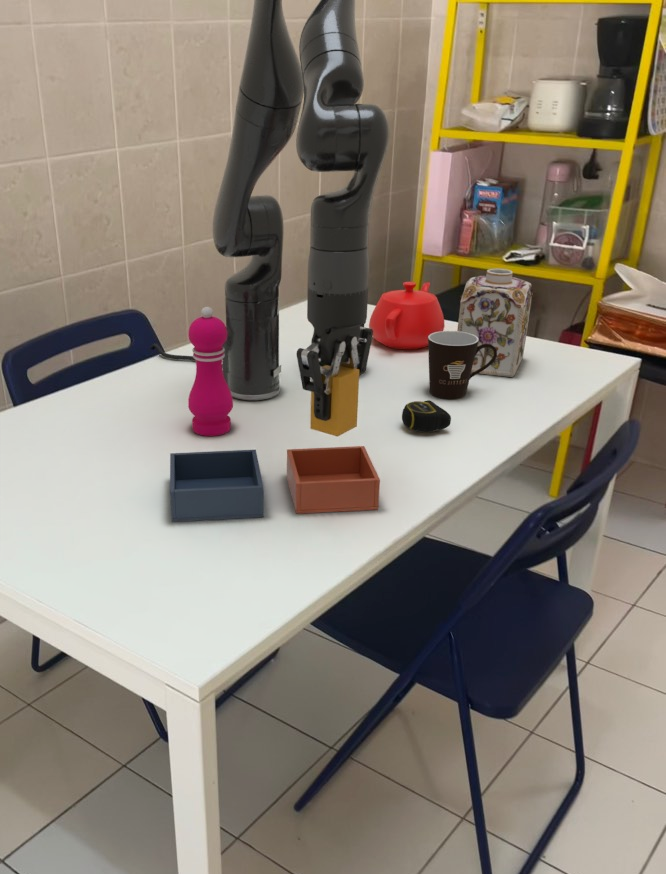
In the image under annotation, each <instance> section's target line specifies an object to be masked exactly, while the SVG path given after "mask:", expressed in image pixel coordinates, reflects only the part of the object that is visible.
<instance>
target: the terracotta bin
mask: <svg viewBox="0 0 666 874" xmlns="http://www.w3.org/2000/svg"><path fill="white" fill-rule="evenodd" d="M286 480H287V484H288V488H289V492H290V495H291V500H292V504H293V507H294V511H295V514H296V515H297V514H315V513H318V514H319V513H336V512H355V511H358V512H359V511H378V510H379V502H380V487H381V486H380V485H381V479H380V477H379V475H378V473H377V471H376V467H375V466H374V464H373V462H372V460H371V457H370V456H369V453H368V451H367V449H366V447H365V445H357V446H356V445H354V446H331V447H330V446H329V447H313V448H312V447H311V448H310V447H309V448H290V449H289V448H288V449H286Z"/></svg>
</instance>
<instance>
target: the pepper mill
mask: <svg viewBox="0 0 666 874" xmlns="http://www.w3.org/2000/svg"><path fill="white" fill-rule="evenodd" d="M200 314H201V316H200V317H197V318H196V319H194V320H193V321H192V322H191V323H190V324H189V328H188V340H189V343H191V345H192V346H193V348H192V356H193V358H194V359H196V361H195V365H196V368H195V377H194V381H193V384H192V387H191V390H190V392H189V395H188V401H187V402H188V403H187V405H188V406H187V407H188V410H189V411H190V413H191V415H193V417H192V419H191V423H192V424H191V427H192V431H193V432H194V433H195V434H197V435H199V436H203V437H217V436H221V435H225V434H227V433H228V432H230V431H231V427H232V425H231V423H232V422H231V417H230V416H229V414H230V413H231V412H232V410H233V408H234V401H233V400H234V399H233V397H232V395H231V392H230V389H229V387H228V385H227V383H226V381H225V378H224V375H223V369H222V359H223V358H224V357H225V354H224V350H225V349H224V347H222V346H223V344H224V343H225V341H226V339H227V329H226V323H224V321H223V320H222V319H220V318H219V317H216V316H213V314H214V311H213V309H212V308H211V307H210V306H205V307H203V308H202V309H201V312H200Z"/></svg>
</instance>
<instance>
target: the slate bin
mask: <svg viewBox="0 0 666 874" xmlns="http://www.w3.org/2000/svg"><path fill="white" fill-rule="evenodd" d="M169 456H170V457H169V498H170V512H171V514H170V515H171V522H172V523H175V522H176V523H178V522H195V521H196V522H198V521H216V520H218V521H219V520H237V519H238V520H239V519H255V518H256V519H257V518H264V517H265V515H264V514H265V510H264V507H265V506H264V505H265V504H264V503H265V501H264V500H265V499H264V498H265V497H264V484H263V483H264V482H263V478H262V474H261V468H260V463H259V458H258V453H257V449H235V450H213V451H194V452H193V451H191V452H190V451H189V452H171V453H169Z"/></svg>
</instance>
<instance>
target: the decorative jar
mask: <svg viewBox="0 0 666 874" xmlns="http://www.w3.org/2000/svg"><path fill="white" fill-rule="evenodd" d="M513 273H514V272H513V271H512V270H511V269H506V268H489V269H487V270H486V275H478V276H473V277H470V278H469V279H468V280H467V281H466V283H465V286H464V289H463V292H462V295H461V299H460V300H459V303H460V305H459V315H458V321H457V329H456V331H459V332H466V333H470V334H473V335H475V336H477V337H478V339H479V341H478V345H477V347H478V346H480V345H483V344H491V345H493V346H494V347H495V348H496V350H497V357H496V359H495V360H494V362H493V363H492V364H491V365H490V366H488V367H487V368H486V369H484V370H483V371H481V372H480V373H479V374H481V375H490V376H498V377H507V378H513V377H514V376H515V375H516V373H517V371H518V369H519V367H520V365H521V363H522V360H523V358H524V352H525V346H526V340H527V333H528V326H529V321H530V314H531V307H532V298H533V295H534V293H533V291H534V290H533V286H532V283H531V282H529V281H526V280H525V279H521V278H518V277H513ZM493 355H494V352H493V350H492V349H491V348H489V347H485V348H482V349H481V350H479V351H478V353H477V354H476V356H475V358H474V362H473V366H472V370H471V373H473V372H475V371H476V370H478V369H480V368H481V367H483V366H485V365H486V364H487V363H488V362H489V361H490V360H491V359H492V358H493Z"/></svg>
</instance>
